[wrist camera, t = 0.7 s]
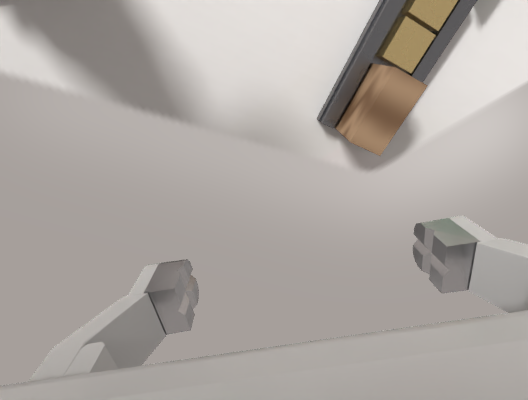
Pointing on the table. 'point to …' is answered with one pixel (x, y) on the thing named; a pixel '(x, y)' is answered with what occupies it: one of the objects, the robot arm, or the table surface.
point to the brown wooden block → (379, 107)
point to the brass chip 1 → (429, 12)
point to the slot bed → (366, 53)
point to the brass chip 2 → (405, 44)
